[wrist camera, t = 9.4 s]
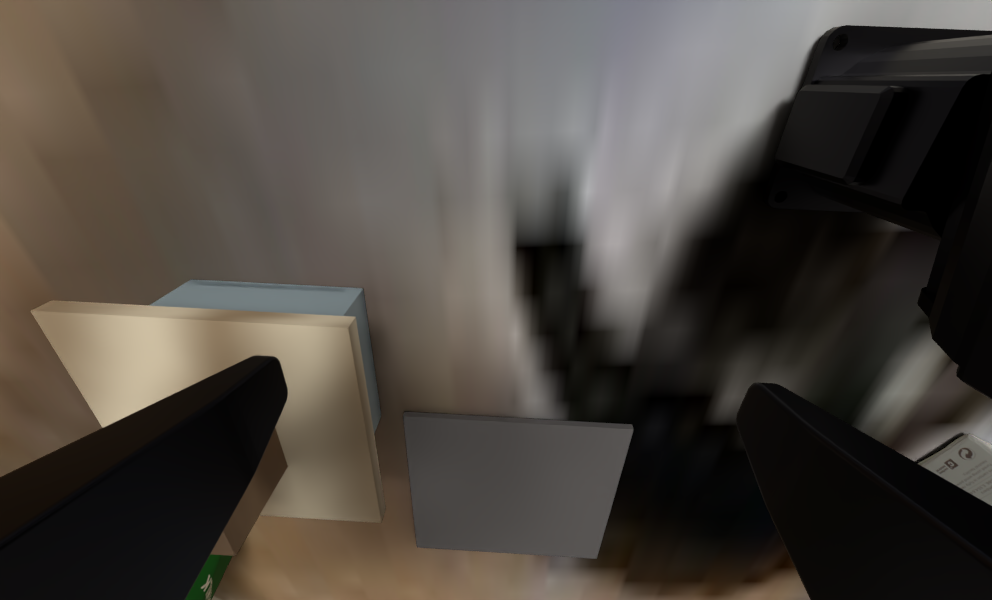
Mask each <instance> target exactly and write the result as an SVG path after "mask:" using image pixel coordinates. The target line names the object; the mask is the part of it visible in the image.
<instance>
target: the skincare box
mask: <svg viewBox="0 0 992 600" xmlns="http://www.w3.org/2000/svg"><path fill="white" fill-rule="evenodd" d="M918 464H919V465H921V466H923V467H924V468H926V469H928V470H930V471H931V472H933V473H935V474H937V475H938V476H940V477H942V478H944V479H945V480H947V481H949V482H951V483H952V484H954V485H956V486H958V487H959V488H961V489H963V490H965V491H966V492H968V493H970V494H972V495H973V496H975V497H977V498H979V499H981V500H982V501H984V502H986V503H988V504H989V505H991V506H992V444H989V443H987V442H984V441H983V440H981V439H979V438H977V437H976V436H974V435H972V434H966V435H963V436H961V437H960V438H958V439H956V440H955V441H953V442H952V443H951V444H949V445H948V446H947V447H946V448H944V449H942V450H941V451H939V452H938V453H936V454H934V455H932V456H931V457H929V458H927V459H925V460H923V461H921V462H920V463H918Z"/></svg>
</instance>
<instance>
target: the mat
mask: <svg viewBox="0 0 992 600" xmlns="http://www.w3.org/2000/svg"><path fill="white" fill-rule="evenodd" d="M403 421H404V431H405V440H406V449H407V459H408V468H409V478H410V487H411V497H412V506H413V516H414V525H415V534H416V544H417V547H419V548H435V549H451V550H466V551H482V552H498V553H514V554H530V555H546V556H562V557H577V558H593V559H597V556H598V552H599V549H600V545H601V542H602V538H603V535H604V531H605V528H606V524H607V521H608V517H609V514H610V510H611V507H612V503H613V500H614V496H615V493H616V489H617V486H618V482H619V479H620V475H621V472H622V468H623V465H624V461H625V458H626V454H627V451H628V447H629V444H630V440H631V437H632V433H633V430H634V429H633V426H632V424H615V423H598V422H580V421H563V420H545V419H527V418H510V417H492V416H475V415H457V414H439V413H422V412H404V415H403Z"/></svg>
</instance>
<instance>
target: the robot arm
mask: <svg viewBox="0 0 992 600" xmlns="http://www.w3.org/2000/svg"><path fill="white" fill-rule="evenodd" d="M837 36H839V38H840V44H839V45H838V47H837V48H836V49H835V50H834V49H833V47H832V45H833V41H834V39H835V38H836V37H837ZM775 159H776V161H775V164H774V167H773V170H772V172H771V175H770V178H769V181H768V184H767V186H766V189H765V192H764V195H763V200H764V202H765V203H766V204H767V205H768V206H771V207H773V208H778V209H799V210H821V211H842V212H864V213H868V214H871V215H873V216H876V217H878V218H881V219H884V220H886V221H889V222H892V223H894V224H897V225H900V226H902V227H905V228H908V229H910V230H913V231H916V232H918V233H921V234H924V235H926V236H929V237H932V238H934V239H937V240H939V241H940V245H939V248H938V251H937V254H936V258H935V261H934V264H933V268H932V271H931V274H930V278H929V281H928V284H927V287H924V288H922V289H921V292H920V296H919V299H918V306H919V307H920V308H921V309H922V310H923V312H924V313H925V314H926V315H927V316H928V318H929V323H930V329H931V334H932V339H933V340H934V341H935V342H936V343H937V344H938V345H939V346H940V347H941V348H942V350H943V351H944V352H945V353H946V354H947V355H948V356H949V357H950V358H951V359H952V360H953V361H954V362H955V363H956V364H958V365H959V367H958V369H957V372H956V373H957V377H958V378H959V379H960V380H962V381H963V382H964V383H966V384H967V385H969V386H970V387H972V388H974V389H975V390H977V391H979V392H980V393H982V394H984V395H985V396H987V397H988V398H990V399H992V31H979V30H954V29H928V28H902V27H876V26H850V25H846V26H840V27H834V28H832V29H830V30H828V31H827V32H826V33H825V34H824V35H823V36H822V37H821V39H820V41H819V43H818V46H817V48H816V51H815V54H814V57H813V59H812V62H811V65H810V68H809V70H808V73H807V76H806V79H805V81H804V84H803V87H802V89H801V90H800V91H799V92H798V93H797V96H796V99H795V102H794V104H793V107H792V110H791V113H790V116H789V118H788V121H787V124H786V127H785V129H784V132H783V135H782V138H781V141H780V143H779V146H778V149H777V152H776V154H775ZM779 191H782V195H781V196H780V198H778V199H777V200H774V198H775V195H776V194H777V193H778V192H779ZM287 397H288V388H287V384H286V381H285V377H284V374H283V370H282V367H281V363H280V361H279V360H278V358H276V357H274V356H262V355H255V356H251V357H249V358H247V359H245V360H243V361H241V362H239V363H237V364H235V365H232V366H230V367H228V368H226V369H224V370H222V371H220V372H218V373H216V374H214V375H212V376H210V377H208V378H205V379H203V380H201V381H199V382H197V383H195V384H193V385H191V386H189V387H187V388H185V389H183V390H181V391H178V392H176V393H174V394H172V395H170V396H168V397H166V398H164V399H162V400H160V401H158V402H156V403H153V404H151V405H149V406H147V407H145V408H143V409H141V410H139V411H137V412H135V413H133V414H131V415H129V416H126V417H124V418H122V419H120V420H118V421H116V422H114V423H112V424H110V425H108V426H106V427H104V428H101V429H99V430H97V431H95V432H93V433H91V434H89V435H87V436H85V437H83V438H81V439H79V440H77V441H74V442H72V443H70V444H68V445H66V446H64V447H62V448H60V449H58V450H56V451H54V452H52V453H50V454H47V455H45V456H43V457H41V458H39V459H37V460H35V461H33V462H31V463H29V464H27V465H25V466H22V467H20V468H18V469H16V470H14V471H12V472H10V473H8V474H6V475H4V476H2V477H0V600H185V599H186V597H187V595H188V594H189V592H190V590H191V588H192V586H193V585H194V583H195V581H196V579H197V577H198V576H199V574H200V572H201V570H202V568H203V567H204V565H205V563H206V561H207V559H208V558H209V556H210V554H211V552H212V550H213V549H214V547H215V545H216V543H217V541H218V540H219V538H220V536H221V534H222V533H223V531H224V529H225V527H226V525H227V524H228V522H229V520H230V518H231V516H232V515H233V513H234V511H235V509H236V507H237V506H238V504H239V502H240V500H241V498H242V497H243V495H244V493H245V491H246V489H247V488H248V486H249V484H250V482H251V480H252V478H253V476H254V474H255V472H256V470H257V468H258V466H259V464H260V462H261V459H262V457H263V455H264V452H265V450H266V448H267V445H268V443H269V441H270V438H271V436H272V434H273V431H274V429H275V427H276V424H277V422H278V420H279V417H280V415H281V413H282V411H283V408H284V406H285V404H286V401H287ZM736 423H737V428H738V431H739V434H740V436H741V439H742V442H743V445H744V447H745V450H746V453H747V456H748V458H749V461H750V464H751V467H752V469H753V472H754V475H755V478H756V480H757V483H758V486H759V489H760V491H761V494H762V497H763V499H764V502H765V504H766V506H767V509H768V511H769V513H770V515H771V518H772V520H773V522H774V524H775V526H776V528H777V530H778V532H779V534H780V537H781V539H782V541H783V543H784V545H785V547H786V549H787V551H788V553H789V555H790V557H791V560H792V562H793V564H794V566H795V568H796V570H797V572H798V574H799V576H800V578H801V581H802V583H803V585H804V587H805V589H806V591H807V593H808V595H809V597H810V599H811V600H992V506H991V505H989V504H988V503H986V502H984V501H982V500H981V499H979V498H977V497H975V496H973V495H972V494H970V493H968V492H966V491H965V490H963V489H961V488H959V487H958V486H956V485H954V484H952V483H951V482H949V481H947V480H945V479H944V478H942V477H940V476H938V475H937V474H935V473H933V472H931V471H930V470H928V469H926V468H924V467H923V466H921V465H919V464H917V463H916V462H914V461H912V460H910V459H909V458H907V457H905V456H903V455H902V454H900V453H898V452H896V451H895V450H893V449H891V448H889V447H888V446H886V445H884V444H882V443H881V442H879V441H877V440H875V439H873V438H872V437H870V436H868V435H866V434H865V433H863V432H861V431H859V430H858V429H856V428H854V427H852V426H851V425H849V424H847V423H845V422H844V421H842V420H840V419H838V418H837V417H835V416H833V415H831V414H830V413H828V412H826V411H824V410H823V409H821V408H819V407H817V406H816V405H814V404H812V403H810V402H809V401H807V400H805V399H803V398H802V397H800V396H798V395H796V394H795V393H793V392H791V391H789V390H788V389H786V388H784V387H782V386H780V385H778V384H773V383H754V384H752V385H751V386H750V387H749V389H748V391H747V393H746V395H745V397H744V400H743V402H742V404H741V406H740V408H739V411H738V413H737V418H736Z"/></svg>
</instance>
